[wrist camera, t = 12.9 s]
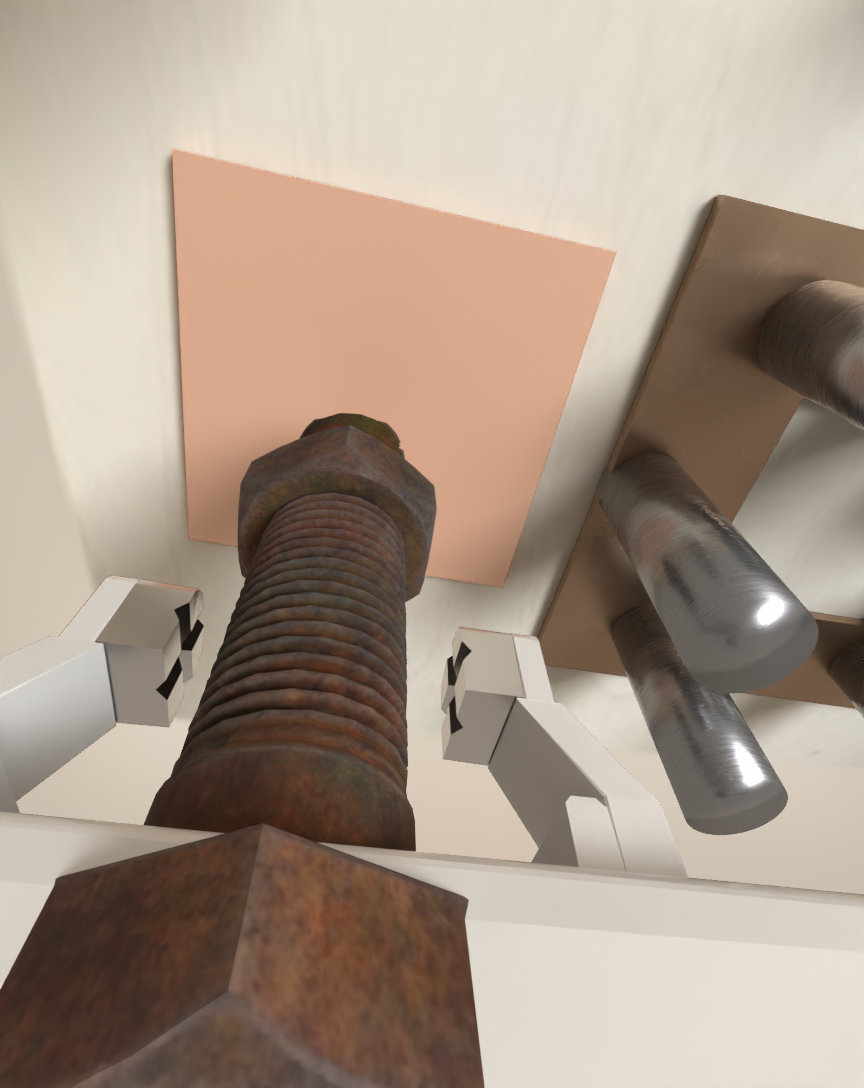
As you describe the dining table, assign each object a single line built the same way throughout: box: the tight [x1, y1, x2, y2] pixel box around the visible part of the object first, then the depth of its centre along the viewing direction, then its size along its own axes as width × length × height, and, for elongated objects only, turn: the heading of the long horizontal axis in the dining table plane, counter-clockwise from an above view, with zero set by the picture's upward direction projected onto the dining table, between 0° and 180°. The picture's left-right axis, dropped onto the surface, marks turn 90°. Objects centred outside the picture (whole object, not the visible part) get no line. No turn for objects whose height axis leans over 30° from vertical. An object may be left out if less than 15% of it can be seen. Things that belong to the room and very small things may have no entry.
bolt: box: [0, 413, 485, 1088], centre depth 11 cm, size 6×5×15 cm
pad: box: [172, 149, 616, 588], centre depth 20 cm, size 13×13×1 cm
